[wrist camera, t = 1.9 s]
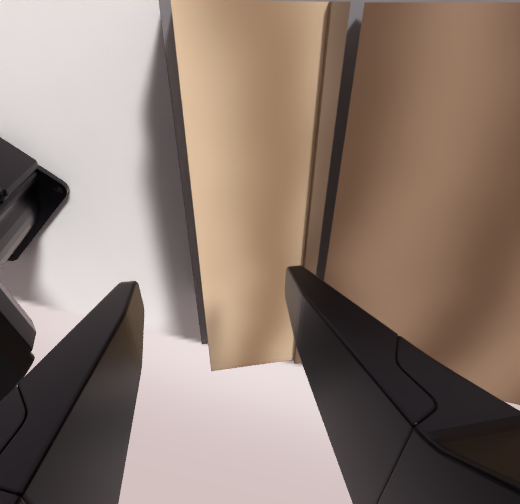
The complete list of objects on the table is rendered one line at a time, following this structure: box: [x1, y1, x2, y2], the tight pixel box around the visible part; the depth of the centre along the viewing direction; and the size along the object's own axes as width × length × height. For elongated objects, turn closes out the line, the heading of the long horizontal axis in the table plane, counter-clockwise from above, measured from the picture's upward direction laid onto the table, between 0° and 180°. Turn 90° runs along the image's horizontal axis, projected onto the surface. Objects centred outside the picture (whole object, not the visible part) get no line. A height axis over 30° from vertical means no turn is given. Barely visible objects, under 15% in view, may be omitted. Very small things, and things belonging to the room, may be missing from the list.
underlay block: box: [159, 0, 520, 344], centre depth 20 cm, size 19×18×5 cm
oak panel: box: [171, 0, 351, 371], centre depth 16 cm, size 5×17×3 cm, turn 0°
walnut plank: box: [324, 2, 520, 405], centre depth 15 cm, size 12×17×2 cm
